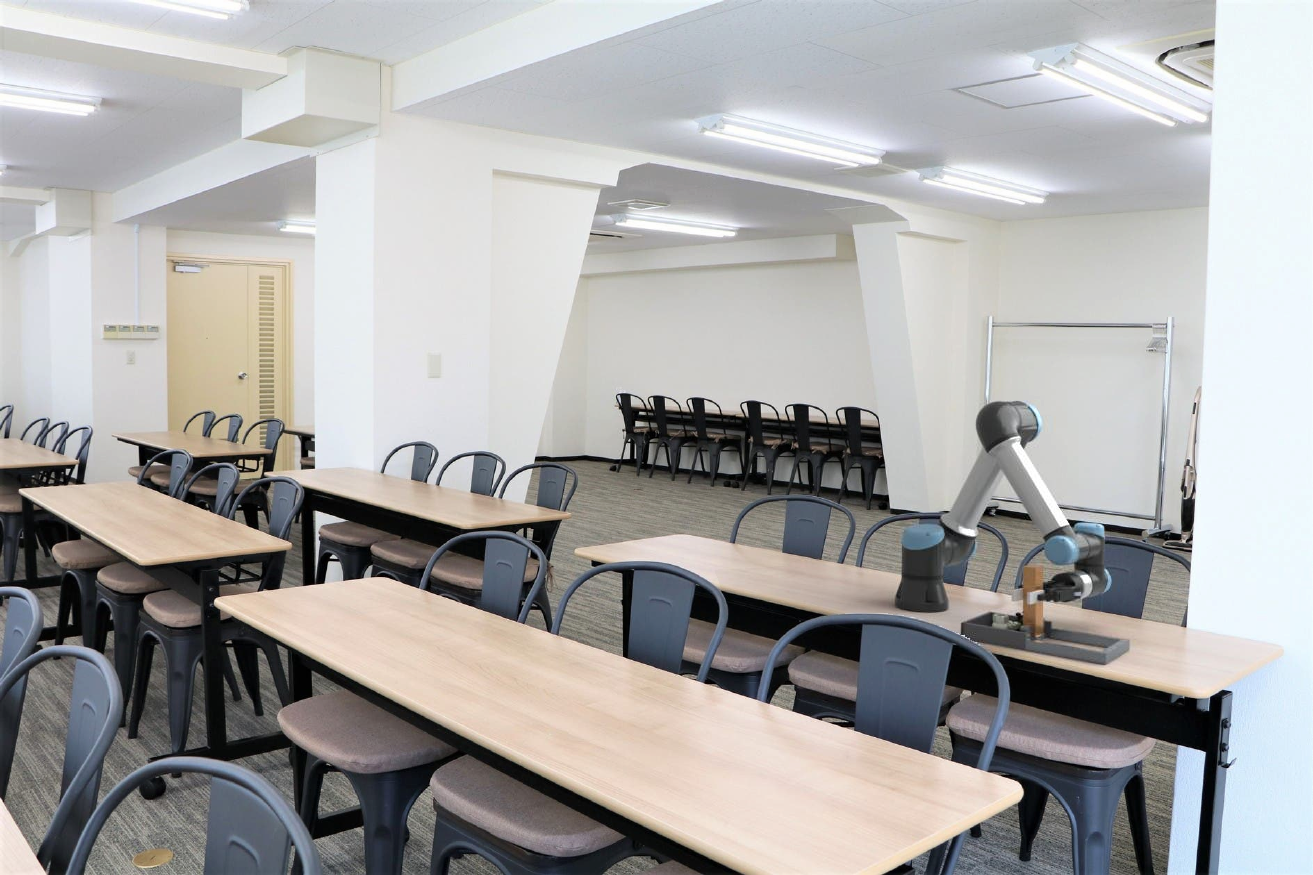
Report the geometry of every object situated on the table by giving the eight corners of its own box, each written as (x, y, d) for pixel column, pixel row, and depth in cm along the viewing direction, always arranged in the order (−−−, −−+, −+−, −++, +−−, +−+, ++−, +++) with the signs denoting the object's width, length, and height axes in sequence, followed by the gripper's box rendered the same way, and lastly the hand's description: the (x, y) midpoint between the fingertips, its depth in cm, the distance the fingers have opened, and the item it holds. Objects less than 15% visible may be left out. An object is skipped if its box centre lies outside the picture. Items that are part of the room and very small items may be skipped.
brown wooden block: (1034, 632, 253) (1034, 562, 252) (1050, 634, 250) (1050, 563, 250) (1014, 641, 243) (1014, 568, 242) (1031, 644, 240) (1031, 570, 240)
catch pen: (989, 626, 263) (989, 611, 263) (1051, 636, 252) (1052, 621, 252) (960, 638, 250) (961, 622, 250) (1025, 649, 239) (1026, 633, 239)
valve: (1005, 645, 244) (1036, 638, 250) (1006, 618, 243) (1037, 613, 250) (983, 639, 249) (1014, 633, 256) (984, 613, 249) (1015, 608, 256)
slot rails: (1052, 636, 252) (1052, 627, 252) (1129, 649, 240) (1129, 639, 240) (1025, 650, 239) (1025, 639, 239) (1105, 664, 227) (1106, 653, 226)
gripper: (1100, 606, 251) (1051, 618, 237) (1040, 595, 264) (990, 606, 249) (1101, 576, 251) (1052, 587, 236) (1041, 567, 264) (991, 577, 249)
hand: (1020, 597), depth 243 cm, fingers closed on brown wooden block, 3 cm apart
